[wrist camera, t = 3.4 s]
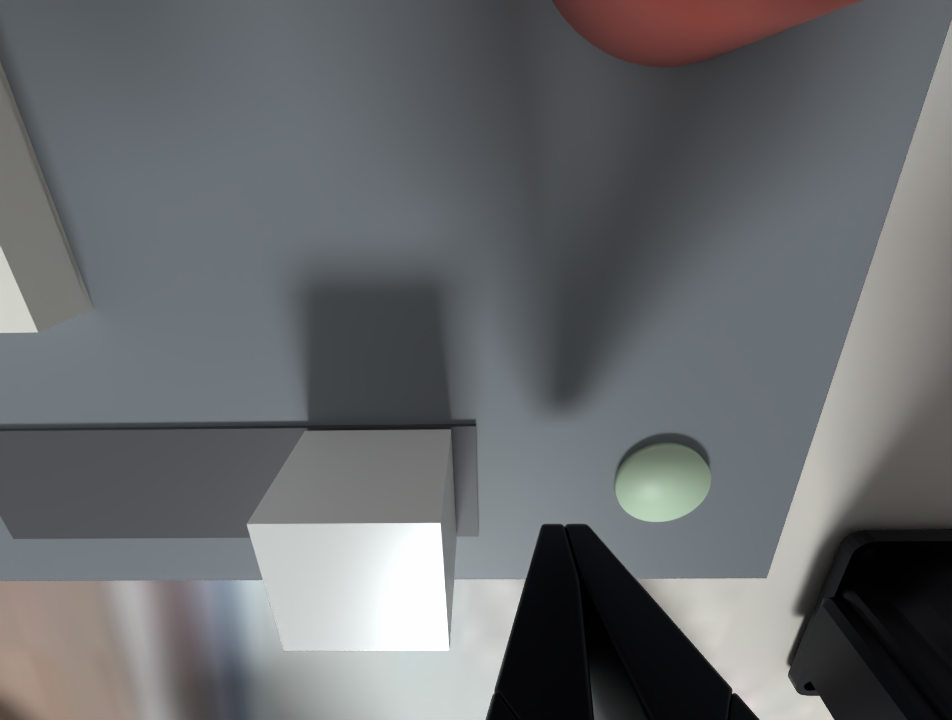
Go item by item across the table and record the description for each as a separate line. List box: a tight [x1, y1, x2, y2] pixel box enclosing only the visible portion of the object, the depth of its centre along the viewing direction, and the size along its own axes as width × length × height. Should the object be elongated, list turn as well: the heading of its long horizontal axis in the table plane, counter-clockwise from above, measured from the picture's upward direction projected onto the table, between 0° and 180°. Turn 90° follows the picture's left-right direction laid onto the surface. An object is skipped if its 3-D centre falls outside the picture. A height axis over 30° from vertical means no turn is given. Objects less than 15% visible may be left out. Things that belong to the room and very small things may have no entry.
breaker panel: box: [0, 0, 952, 581], centre depth 8 cm, size 24×17×3 cm
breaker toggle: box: [247, 429, 457, 651], centre depth 9 cm, size 3×3×3 cm
